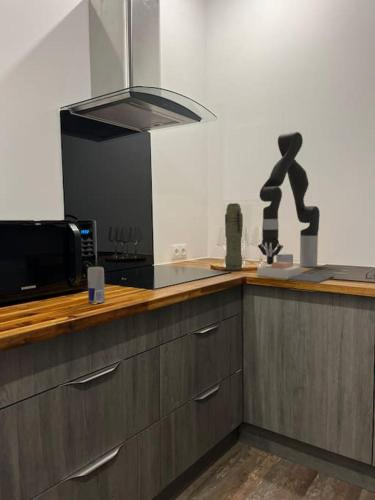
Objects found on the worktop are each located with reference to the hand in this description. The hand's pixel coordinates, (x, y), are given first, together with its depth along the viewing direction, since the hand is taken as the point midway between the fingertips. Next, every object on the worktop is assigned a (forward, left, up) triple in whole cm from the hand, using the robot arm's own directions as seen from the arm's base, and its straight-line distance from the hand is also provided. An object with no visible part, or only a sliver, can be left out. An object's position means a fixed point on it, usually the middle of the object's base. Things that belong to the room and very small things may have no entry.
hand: (270, 264), depth 184 cm
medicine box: (-15, 0, -5) cm, 16 cm away
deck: (0, +5, -5) cm, 7 cm away
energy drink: (+89, -17, -5) cm, 91 cm away
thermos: (-4, -24, -5) cm, 25 cm away
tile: (0, +6, -1) cm, 6 cm away
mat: (0, +21, -5) cm, 21 cm away
